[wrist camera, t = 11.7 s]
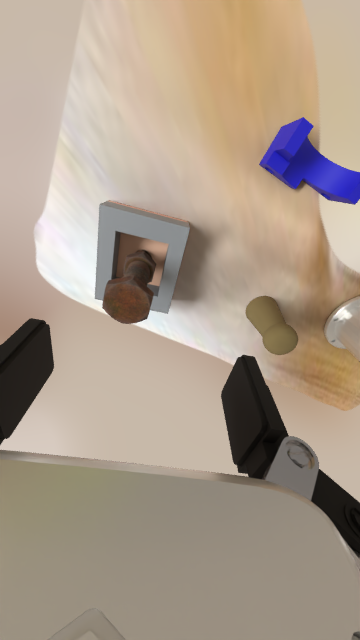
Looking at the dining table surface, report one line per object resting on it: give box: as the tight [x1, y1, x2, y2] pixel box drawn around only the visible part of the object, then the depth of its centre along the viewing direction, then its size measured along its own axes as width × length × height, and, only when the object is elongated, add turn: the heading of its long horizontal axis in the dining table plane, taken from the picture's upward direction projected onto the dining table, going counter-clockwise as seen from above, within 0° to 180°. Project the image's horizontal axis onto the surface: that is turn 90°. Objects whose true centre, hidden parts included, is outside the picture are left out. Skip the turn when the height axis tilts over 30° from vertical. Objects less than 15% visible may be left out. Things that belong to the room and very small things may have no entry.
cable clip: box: [259, 117, 360, 204], centre depth 29 cm, size 12×4×6 cm, turn 62°
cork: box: [246, 296, 298, 355], centre depth 39 cm, size 6×6×11 cm
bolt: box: [103, 249, 156, 324], centre depth 30 cm, size 6×5×15 cm
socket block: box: [95, 200, 190, 314], centre depth 35 cm, size 12×14×5 cm
